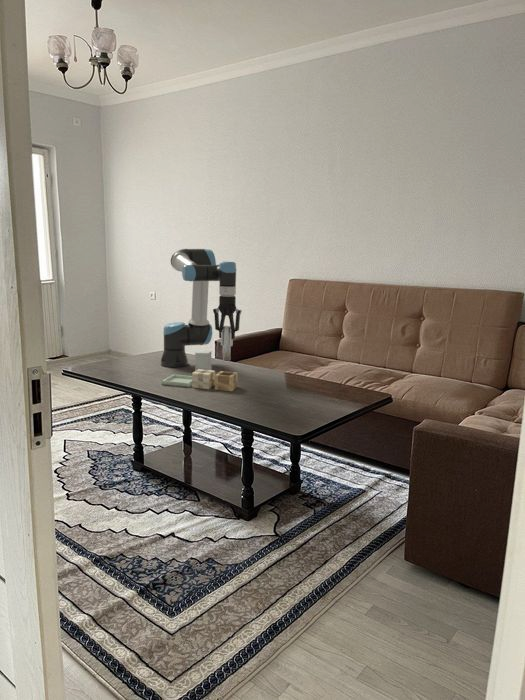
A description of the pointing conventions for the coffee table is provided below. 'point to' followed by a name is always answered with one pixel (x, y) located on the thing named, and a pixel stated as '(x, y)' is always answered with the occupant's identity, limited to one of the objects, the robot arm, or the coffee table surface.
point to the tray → (178, 381)
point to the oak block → (226, 381)
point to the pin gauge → (226, 343)
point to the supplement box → (203, 360)
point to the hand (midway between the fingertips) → (226, 345)
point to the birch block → (203, 379)
